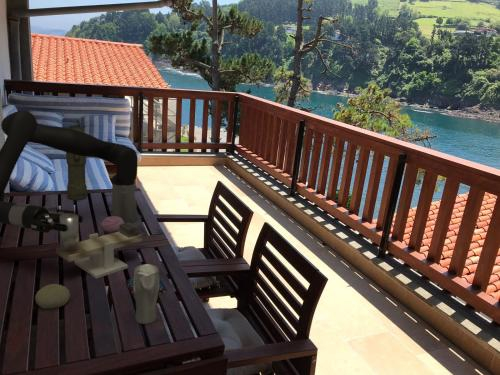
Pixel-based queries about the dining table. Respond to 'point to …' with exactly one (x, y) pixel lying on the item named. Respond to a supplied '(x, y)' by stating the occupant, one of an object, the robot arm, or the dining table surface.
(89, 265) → the pivot stand
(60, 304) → the sea urchin shell
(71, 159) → the thermos
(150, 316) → the beer glass
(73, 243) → the translucent grey cylinder
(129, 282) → the woven mat
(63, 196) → the dining table surface
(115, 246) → the balance beam
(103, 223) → the cupcake
